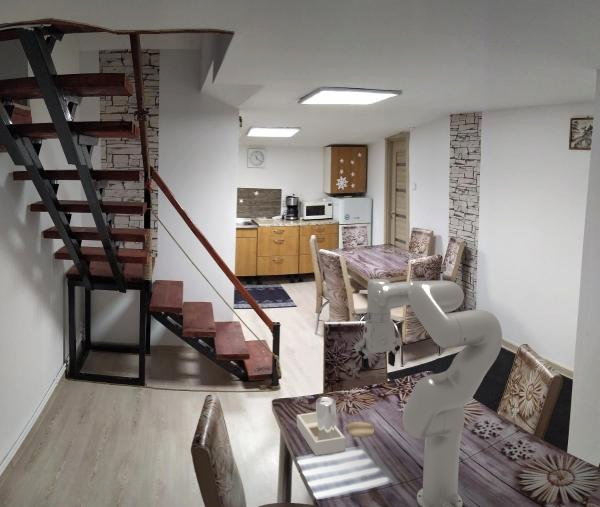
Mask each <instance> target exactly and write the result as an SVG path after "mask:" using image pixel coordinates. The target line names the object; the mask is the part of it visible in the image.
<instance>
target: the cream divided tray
mask: <svg viewBox="0 0 600 507" xmlns="http://www.w3.org/2000/svg"><path fill="white" fill-rule="evenodd" d="M296 428H297V429H298V431H299V432H300V434H301V435H302V437H303V439H304V440H305V441H306V443H307V444H308V447H309V448H310V449H311V451H312V453H313V454H314V455H315V456H323V455H328V454H334V453H339V452H346V436H345V435H344V434H343V433H342V432H341V431H340V429H339V428H338V427H337V425H335V426H334V438H331V439H325V440H319V441H318V440H317V438H318V426H317V421H316V411H314V412H308V413H301V414H296Z"/></svg>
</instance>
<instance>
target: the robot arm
mask: <svg viewBox="0 0 600 507" xmlns="http://www.w3.org/2000/svg"><path fill="white" fill-rule="evenodd" d="M464 299H465V294H464V291H463V288H462V287H461V285H459V284H457V283H456V282H454V281H450V280H410V281H409V280H408V281H397V282H396V281H395V282H390V281H389V279H385V278H372V279H370V280H369V281H367V301H366V302H367V306H366V307H367V310H366V314H364V315H363V319H365V323H364V327H363V335H362V336H363V337H362V340H360V341H358V342H357V343H356V344H354V346H353V347H354V349H355V351H356V353H357V354H358V355H359V356H360V357H361V367H362V368H363V369H364V370H365V371H369V363H370V362H369V361H370V360H369V356H370V354H379V353H385V352H388V353H387V363H388V365H390V366H392V367H395V364H396V355H397V353H398V351H399V350H400V349H401V345H402V343H403V339H401V338H399V337H397V336H396V332H395V325H394V320H393V319H391V315H392V314H391V311H392V308H396V307H404V306H410V309H411V310H412V312H413V313H414V315H415V317H416V318H417V319H418V321H419V322H420V324H421V325H422V327H423V328H424V329H425V331H426V332H427V333H428V335H429V337H430V338H431V339H432V341H433V342H434V343H435V344H436V345H438V347H441V348H444V349H454V348H459V347H463V346H464V348H463V349H461V350H460V351H459V352H458V353H457V354H456V355H455V356H454V358H453V359H452V362H451V364H450V366H449V367H448V368H447V370H445V371H442V372H439V373H435V374H430V375H427V376H424V377H422V378H420V379H419V380H418V381H416V383H415V385H414V387H413V389H412V391H411V394H410V395H409V397H408V399H407V400H406V404H405V405H404V408H403V411H402V418H401V419H402V425H403V429H404V430H405V432H406V433H407V434H408V435H409V436H411V437H412V438H415V439H424V438H425V440H424V448H423V471H422V472H423V474H422V477H423V478H422V488H420V489H419V491H418V492H417V493H416V502H417V503H418V505H419V506H420V507H463V503H464V502H463V499H462V497H461V496H460V495H459V494H458V485H459V484H458V483H459V469H460V468H459V464H460V448H461V446H460V445H461V438H462V437H461V436H462V432H463V429H464V425H465V420H466V410H465V408H464V406H466V405H468V404H469V403H470V402H471V400H472V399H473V398H474V395H475V394H476V392H477V390H478V389H479V387H480V385H481V383H482V382H483V379H484V377H485V376H486V375H487V373H488V372H489V370H490V368H491V367H492V366H493V364H494V363H495V361H496V360H497V357H498V356H499V354H500V352H501V349H502V344H503V332H502V327H501V324H500V321H499V319H498V318H497V316H495V315H494V314H493V313H492V312H489V311H488V310H483V309H475V310H474V309H471V310H464V311H458V312H453V311H455V310H457V309H458V308H460V306H461V305H463V302H464ZM448 312H449V313H448ZM450 312H451V313H450ZM362 348H363V349H362Z"/></svg>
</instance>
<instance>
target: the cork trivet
mask: <svg viewBox="0 0 600 507" xmlns="http://www.w3.org/2000/svg"><path fill="white" fill-rule="evenodd" d="M346 432H347V433H348V434H349V435H350V436H353V437H358V438H365V437H366V438H367V437H370V436H372V435H373V434H374V433H375V427H374V425H373V424H371V423H370V422H365V421H353V422H350V423H348V424H347V425H346Z"/></svg>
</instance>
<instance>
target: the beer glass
mask: <svg viewBox="0 0 600 507" xmlns="http://www.w3.org/2000/svg"><path fill="white" fill-rule="evenodd" d="M336 404H337V403H336V399H335V398H332V397H329V396H323V397H322V396H321V397H319V398H317V399H316V401H315V412H316V421H317V426H318V438H317V440H318V441H319V440H325V439H331V438H334V426H336V419H337V405H336Z"/></svg>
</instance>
